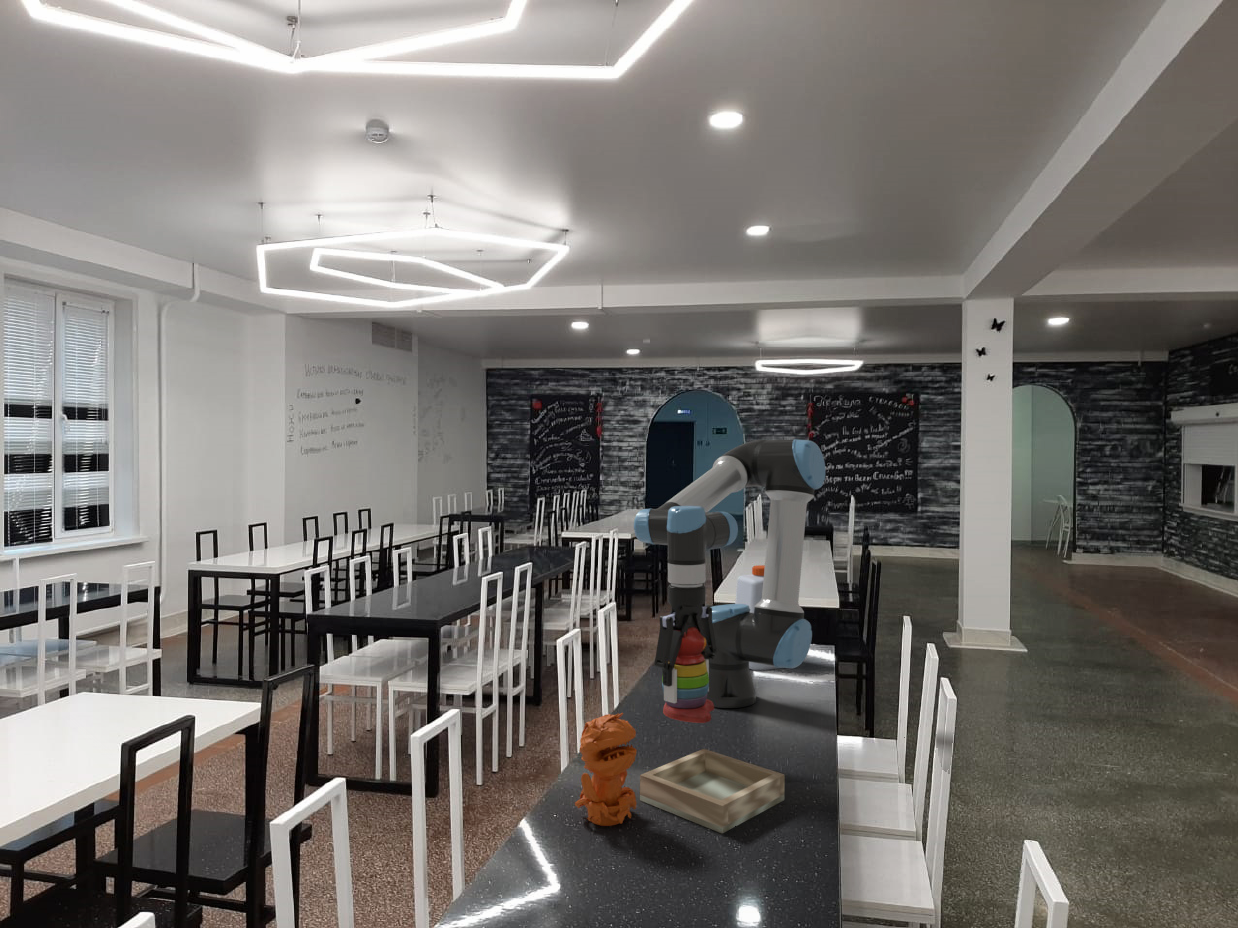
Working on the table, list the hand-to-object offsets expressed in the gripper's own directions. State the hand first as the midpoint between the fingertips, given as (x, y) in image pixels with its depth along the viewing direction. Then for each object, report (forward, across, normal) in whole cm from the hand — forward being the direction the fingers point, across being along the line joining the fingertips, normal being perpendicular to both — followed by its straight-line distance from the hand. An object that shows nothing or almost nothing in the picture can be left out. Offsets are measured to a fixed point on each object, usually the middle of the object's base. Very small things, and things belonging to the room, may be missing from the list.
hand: (686, 695), depth 167 cm
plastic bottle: (+14, -72, -31) cm, 79 cm away
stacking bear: (+4, 0, 0) cm, 4 cm away
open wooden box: (+12, +12, +16) cm, 24 cm away
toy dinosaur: (+12, +30, +8) cm, 34 cm away
